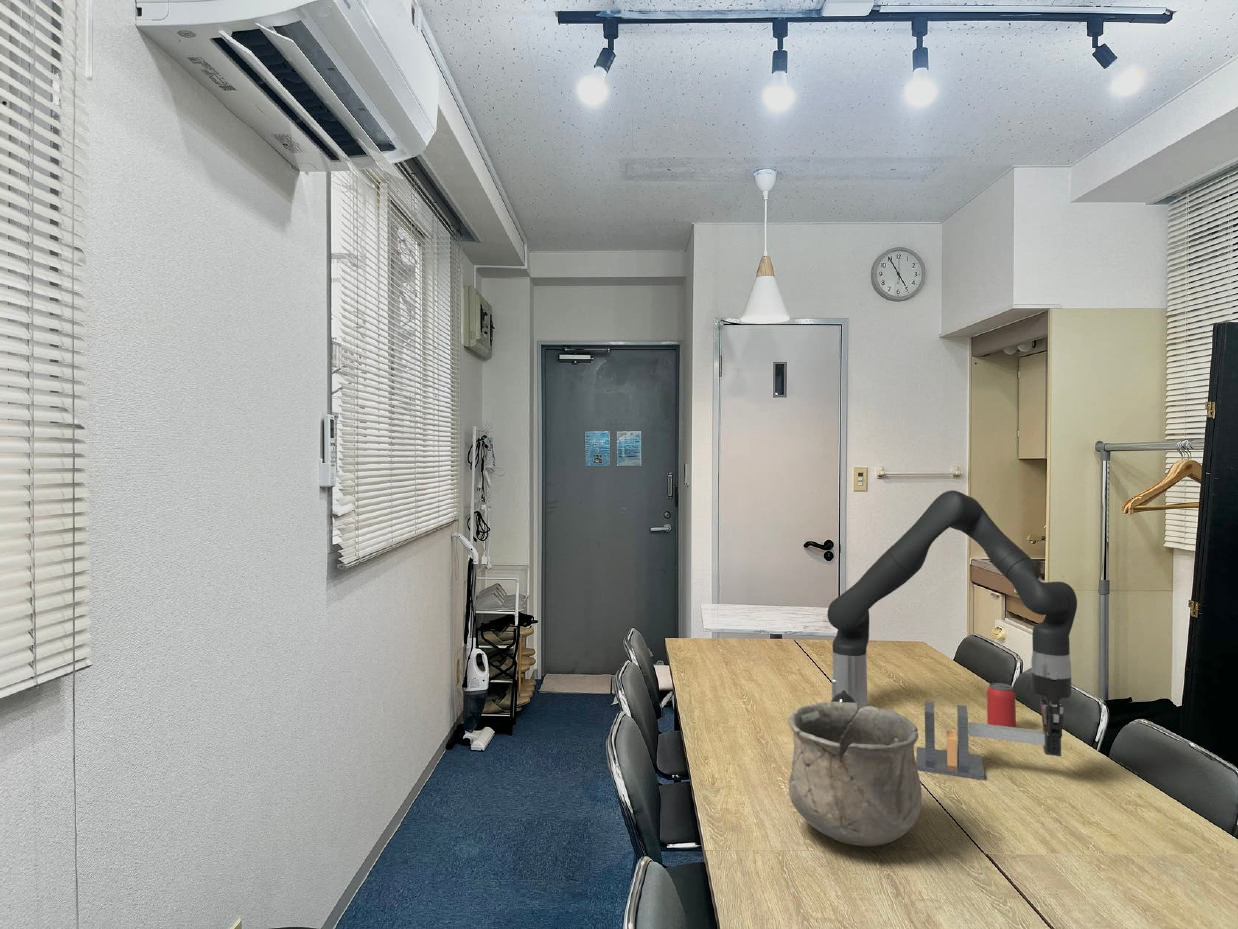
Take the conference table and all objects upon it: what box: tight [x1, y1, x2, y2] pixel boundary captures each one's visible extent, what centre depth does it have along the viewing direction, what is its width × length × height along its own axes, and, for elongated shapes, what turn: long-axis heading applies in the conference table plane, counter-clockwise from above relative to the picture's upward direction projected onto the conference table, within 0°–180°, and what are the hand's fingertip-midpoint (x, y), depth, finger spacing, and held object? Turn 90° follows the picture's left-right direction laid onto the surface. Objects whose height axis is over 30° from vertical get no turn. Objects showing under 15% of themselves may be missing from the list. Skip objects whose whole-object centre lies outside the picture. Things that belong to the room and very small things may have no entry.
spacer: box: [946, 729, 958, 767], centre depth 163 cm, size 2×6×6 cm, turn 155°
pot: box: [787, 701, 923, 847], centre depth 133 cm, size 25×24×21 cm
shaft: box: [968, 721, 1062, 757], centre depth 158 cm, size 18×3×6 cm, turn 66°
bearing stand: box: [915, 700, 985, 781], centre depth 163 cm, size 14×12×13 cm
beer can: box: [986, 682, 1017, 728], centre depth 183 cm, size 7×7×12 cm
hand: (1052, 749), depth 155 cm, fingers closed on shaft, 3 cm apart
